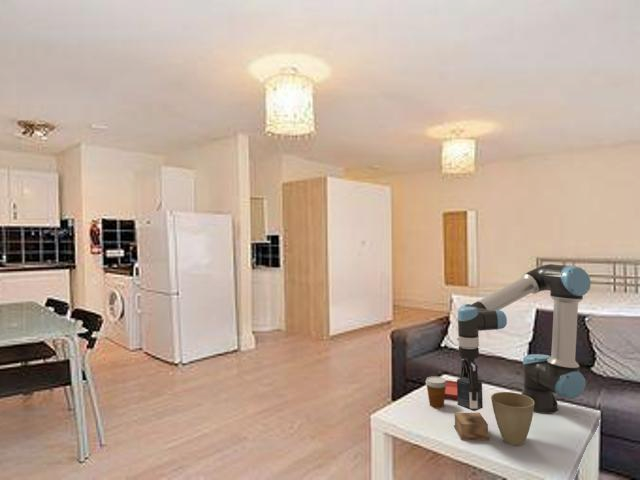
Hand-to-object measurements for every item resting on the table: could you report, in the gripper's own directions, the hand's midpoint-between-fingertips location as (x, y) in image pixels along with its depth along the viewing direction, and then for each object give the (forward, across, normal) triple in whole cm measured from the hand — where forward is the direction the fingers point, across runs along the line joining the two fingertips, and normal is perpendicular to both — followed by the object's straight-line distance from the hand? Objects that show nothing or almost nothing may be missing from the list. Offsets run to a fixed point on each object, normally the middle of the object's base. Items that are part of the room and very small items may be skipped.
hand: (469, 402), depth 159 cm
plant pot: (+12, +5, +14) cm, 20 cm away
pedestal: (+12, 0, 0) cm, 12 cm away
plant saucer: (+13, -40, +4) cm, 42 cm away
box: (+2, 0, 0) cm, 2 cm away
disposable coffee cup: (+13, -26, -8) cm, 30 cm away
